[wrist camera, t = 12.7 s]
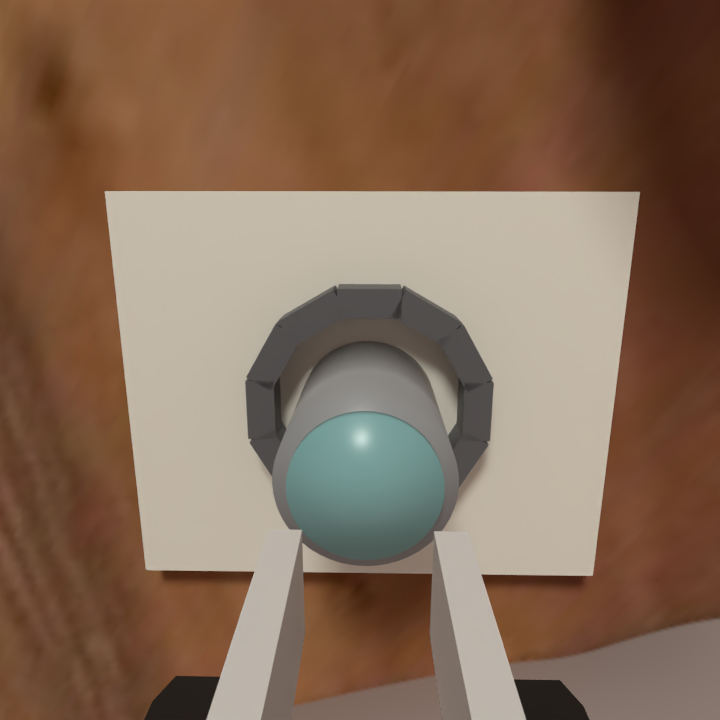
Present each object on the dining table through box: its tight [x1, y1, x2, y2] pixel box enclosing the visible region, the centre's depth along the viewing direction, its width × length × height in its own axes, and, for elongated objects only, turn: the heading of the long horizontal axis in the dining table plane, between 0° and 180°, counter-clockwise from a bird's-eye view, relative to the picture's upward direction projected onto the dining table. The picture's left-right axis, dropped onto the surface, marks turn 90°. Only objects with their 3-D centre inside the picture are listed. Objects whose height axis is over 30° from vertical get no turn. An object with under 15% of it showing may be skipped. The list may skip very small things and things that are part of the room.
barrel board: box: [105, 191, 640, 576], centre depth 25 cm, size 22×18×3 cm
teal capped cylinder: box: [272, 341, 459, 566], centre depth 21 cm, size 6×6×8 cm
